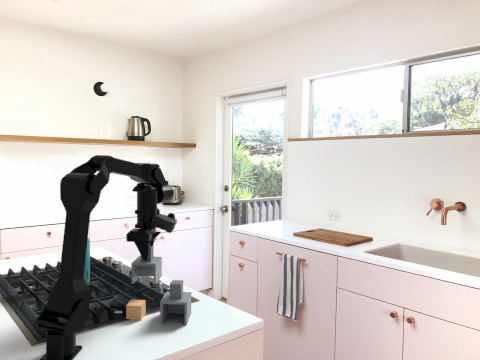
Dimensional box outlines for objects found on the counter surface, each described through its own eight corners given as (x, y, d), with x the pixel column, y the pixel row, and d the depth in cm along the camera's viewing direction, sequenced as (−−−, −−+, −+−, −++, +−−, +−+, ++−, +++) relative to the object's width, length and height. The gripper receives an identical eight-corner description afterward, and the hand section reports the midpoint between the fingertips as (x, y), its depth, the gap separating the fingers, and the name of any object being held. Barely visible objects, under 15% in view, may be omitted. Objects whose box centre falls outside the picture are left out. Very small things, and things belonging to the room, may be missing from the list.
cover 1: (155, 284, 104) (155, 250, 103) (131, 283, 105) (131, 249, 104) (161, 276, 111) (161, 244, 110) (139, 275, 112) (139, 243, 111)
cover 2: (186, 324, 95) (187, 287, 94) (160, 323, 95) (160, 286, 94) (191, 313, 102) (191, 278, 101) (166, 312, 102) (166, 277, 101)
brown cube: (140, 320, 97) (141, 306, 96) (126, 320, 97) (126, 305, 97) (145, 314, 101) (145, 300, 100) (131, 313, 101) (131, 299, 101)
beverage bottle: (82, 291, 116) (82, 228, 114) (64, 289, 117) (63, 227, 115) (94, 284, 122) (94, 225, 120) (77, 282, 123) (76, 223, 122)
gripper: (167, 212, 97) (166, 269, 98) (180, 202, 115) (180, 250, 116) (125, 211, 97) (125, 268, 98) (145, 201, 115) (145, 249, 117)
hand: (147, 258), depth 107 cm, fingers closed on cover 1, 3 cm apart
